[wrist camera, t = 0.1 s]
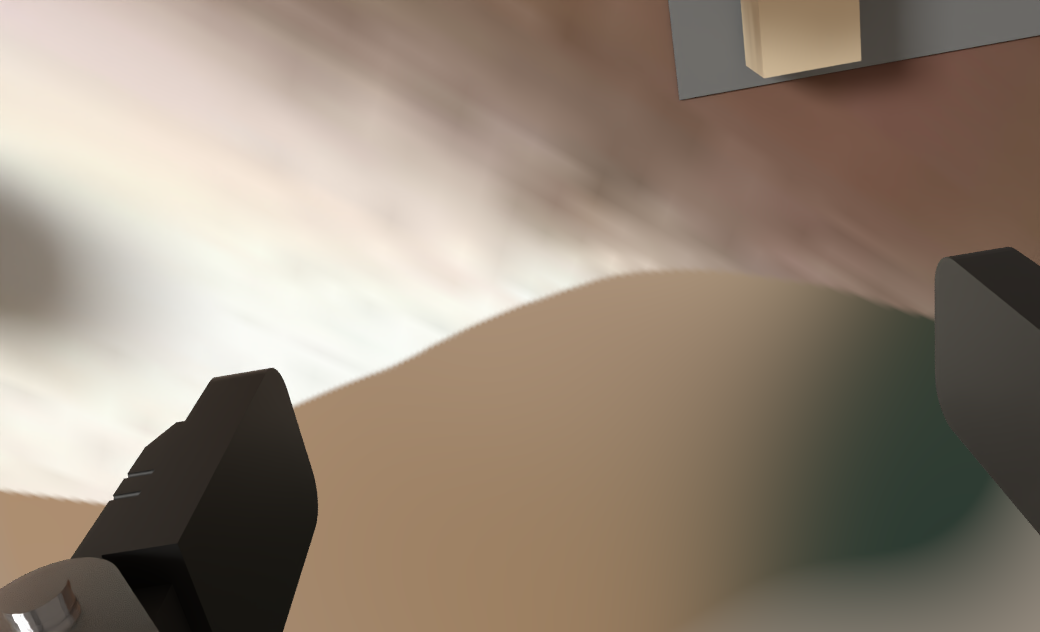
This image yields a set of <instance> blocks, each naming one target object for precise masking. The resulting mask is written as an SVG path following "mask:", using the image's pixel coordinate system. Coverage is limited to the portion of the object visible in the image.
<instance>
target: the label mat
mask: <svg viewBox="0 0 1040 632" xmlns="http://www.w3.org/2000/svg"><path fill="white" fill-rule="evenodd" d="M668 2H669V11H670V20H671V29H672V38H673V47H674V56H675V65H676V74H677V83H678V92H679V100H683V99H688V98H694V97H699V96H705V95H710V94H716V93H721V92H727V91H732V90H738V89H744V88H749V87H755V86H760V85H766V84H771V83H777V82H782V81H788V80H793V79H799V78H805V77H810V76H816V75H821V74H827V73H832V72H838V71H843V70H849V69H854V68H860V67H866V66H871V65H877V64H882V63H888V62H893V61H899V60H904V59H910V58H915V57H921V56H927V55H932V54H938V53H943V52H949V51H954V50H960V49H965V48H971V47H976V46H982V45H988V44H993V43H999V42H1004V41H1010V40H1015V39H1021V38H1026V37H1032V36H1037V35H1040V0H859V9H860V38H861V61H857V62H852V63H846V64H841V65H835V66H830V67H824V68H818V69H813V70H807V71H802V72H796V73H791V74H785V75H780V76H774V77H769V78H763V77H761V76H760V75H759V74H757V73H756V72H754V71H753V70H751V69H750V68H749V67H747V66H746V61H745V49H744V37H743V25H742V12H741V0H668Z"/></svg>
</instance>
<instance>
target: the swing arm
mask: <svg viewBox="0 0 1040 632" xmlns="http://www.w3.org/2000/svg"><path fill="white" fill-rule="evenodd" d="M741 12H742V25H743V37H744V49H745V61H746V66H747V67H749V68H750V69H751V70H753V71H754V72H756V73H757V74H759V75H760V76H761V77H763V78H769V77H774V76H780V75H785V74H791V73H796V72H802V71H807V70H813V69H818V68H824V67H830V66H835V65H841V64H846V63H852V62H857V61H861V38H860V9H859V0H741Z"/></svg>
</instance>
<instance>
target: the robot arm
mask: <svg viewBox="0 0 1040 632" xmlns="http://www.w3.org/2000/svg"><path fill="white" fill-rule="evenodd" d="M935 382H936V390H937V395H938V399H939V403H940V406H941V409H942V412H943V415H944V417H945V419H946V421H947V423H948V425H949V426H950V428H951V429H952V430H953V432H955V434H956V435H957V436H958V437H959V439H960V440H961V441H962V442H963V443H964V445H965V446H966V447H967V448H968V449H969V450H970V452H971V453H972V454H973V455H974V457H975V458H976V459H977V460H978V461H979V463H980V464H981V465H982V466H983V467H984V469H985V470H986V471H987V472H988V473H989V475H990V476H991V477H992V478H993V479H994V481H995V482H996V483H997V484H998V485H999V487H1000V488H1001V489H1002V490H1003V491H1004V493H1005V494H1006V495H1007V496H1008V497H1009V499H1010V500H1011V501H1012V502H1013V503H1014V505H1015V506H1016V507H1017V508H1018V509H1019V511H1020V512H1021V513H1022V514H1023V515H1024V517H1025V518H1026V519H1027V520H1028V521H1029V523H1030V524H1031V525H1032V526H1033V527H1034V528H1035V530H1036V531H1037V532H1038V533H1039V534H1040V266H1039V265H1037V264H1036V263H1035V262H1033V261H1032V260H1030V259H1029V258H1027V257H1026V256H1024V255H1023V254H1021V253H1020V252H1019V251H1017V250H1016V249H1014V248H1012V247H1004V248H998V249H992V250H986V251H980V252H974V253H968V254H962V255H956V256H950V257H945V258H943V259H941V260H940V262H939V263H938V266H937V269H936V274H935ZM113 496H114V500H111V501H109V502H108V504H107V505H106V507H105V508H104V510H103V511H102V513H101V514H100V516H99V517H98V519H97V520H96V522H95V523H94V525H93V526H92V528H91V529H90V530H89V532H88V533H87V535H86V537H85V538H84V539H83V541H82V543H81V544H80V545H79V547H78V549H77V550H76V551H75V553H74V555H73V556H72V557H71V559H68V560H63V561H60V562H56V563H52V564H50V565H47V566H44V567H41V568H38V569H36V570H34V571H32V572H29V573H27V574H25V575H24V576H21V577H20V578H18V579H16V580H14V581H12V582H11V583H9V584H7V585H6V586H4V587H3V588H1V589H0V632H283V630H284V626H285V623H286V620H287V617H288V614H289V610H290V607H291V604H292V601H293V598H294V594H295V591H296V588H297V584H298V582H299V578H300V575H301V572H302V568H303V566H304V562H305V559H306V556H307V553H308V549H309V546H310V543H311V540H312V537H313V533H314V530H315V527H316V523H317V516H318V500H317V499H318V498H317V489H316V483H315V479H314V475H313V471H312V468H311V465H310V462H309V459H308V455H307V452H306V449H305V446H304V442H303V439H302V436H301V433H300V429H299V426H298V423H297V420H296V417H295V413H294V410H293V407H292V404H291V401H290V397H289V394H288V391H287V388H286V385H285V383H284V380H283V378H282V376H281V375H280V373H279V372H278V371H277V370H276V369H274V368H268V369H262V370H256V371H250V372H244V373H238V374H232V375H226V376H220V377H214V378H213V379H212V380H211V381H210V382H209V384H208V385H207V387H206V388H205V390H204V392H203V393H202V395H201V396H200V398H199V400H198V401H197V403H196V404H195V406H194V408H193V409H192V411H191V412H190V414H189V416H188V417H187V419H186V420H185V421H182V422H176V423H175V424H174V425H173V426H171V427H170V428H169V429H168V430H166V431H165V432H164V433H163V434H161V435H160V436H159V437H158V438H156V439H155V440H154V441H153V442H151V443H150V444H149V445H148V446H146V447H145V448H144V450H143V451H142V453H141V454H140V456H139V457H138V459H137V460H136V462H135V463H134V465H133V466H132V468H131V469H130V471H129V472H128V478H126V479H124V480H123V481H122V483H121V484H120V486H119V487H118V489H117V490H116V492H115V493H114V495H113Z"/></svg>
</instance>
